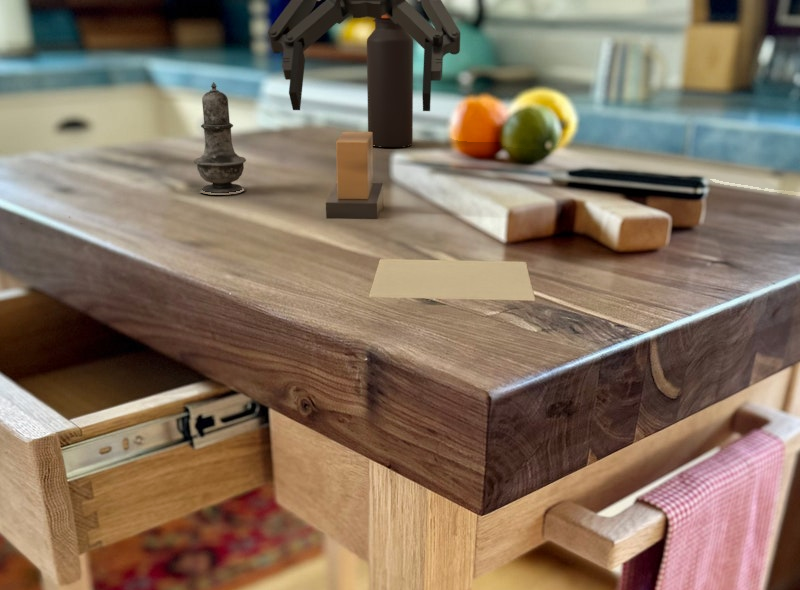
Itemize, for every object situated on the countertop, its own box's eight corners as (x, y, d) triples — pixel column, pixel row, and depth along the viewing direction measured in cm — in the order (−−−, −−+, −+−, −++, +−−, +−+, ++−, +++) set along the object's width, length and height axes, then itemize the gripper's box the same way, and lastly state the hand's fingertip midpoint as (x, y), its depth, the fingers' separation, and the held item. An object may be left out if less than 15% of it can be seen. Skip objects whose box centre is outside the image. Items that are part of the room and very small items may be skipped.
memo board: (525, 273, 72) (526, 261, 71) (534, 313, 63) (535, 300, 62) (380, 270, 72) (379, 258, 72) (368, 309, 63) (368, 296, 63)
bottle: (411, 149, 130) (412, 1, 122) (366, 148, 130) (363, 1, 122) (413, 142, 136) (414, 1, 128) (370, 141, 136) (368, 1, 128)
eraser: (337, 205, 95) (335, 129, 91) (383, 206, 94) (383, 129, 91) (326, 228, 85) (323, 144, 82) (377, 228, 85) (376, 144, 82)
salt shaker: (223, 184, 105) (214, 78, 100) (258, 190, 102) (251, 81, 97) (186, 192, 101) (175, 82, 96) (222, 198, 98) (212, 85, 93)
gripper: (482, -28, 100) (480, 126, 92) (266, -28, 101) (247, 124, 94) (485, -85, 93) (483, 77, 85) (253, -84, 94) (232, 76, 87)
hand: (360, 102), depth 89 cm, fingers open, 13 cm apart
